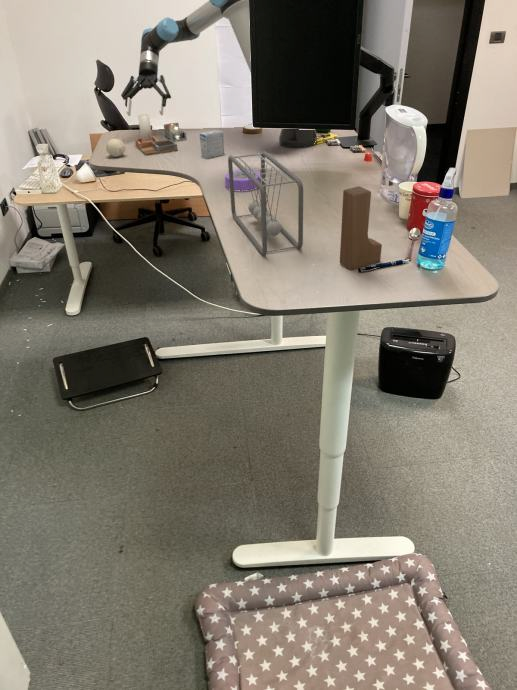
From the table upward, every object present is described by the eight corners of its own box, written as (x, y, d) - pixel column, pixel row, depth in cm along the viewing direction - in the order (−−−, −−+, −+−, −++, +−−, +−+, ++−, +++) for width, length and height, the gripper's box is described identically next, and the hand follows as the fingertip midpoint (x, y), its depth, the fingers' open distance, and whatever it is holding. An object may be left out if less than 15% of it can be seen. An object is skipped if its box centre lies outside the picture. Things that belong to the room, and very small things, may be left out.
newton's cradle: (231, 216, 157) (227, 153, 147) (265, 211, 159) (263, 149, 149) (263, 258, 133) (261, 187, 123) (303, 251, 136) (304, 181, 126)
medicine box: (218, 152, 212) (216, 129, 207) (224, 155, 209) (223, 131, 204) (201, 156, 208) (199, 133, 203) (207, 159, 205) (205, 135, 200)
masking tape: (255, 178, 185) (254, 167, 183) (265, 189, 176) (265, 177, 173) (221, 183, 182) (220, 171, 180) (231, 194, 173) (230, 182, 171)
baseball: (123, 159, 210) (120, 141, 206) (105, 159, 211) (102, 141, 207) (129, 154, 215) (126, 136, 211) (111, 154, 216) (108, 136, 212)
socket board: (177, 150, 216) (176, 144, 215) (145, 155, 212) (144, 148, 211) (166, 141, 229) (165, 134, 228) (135, 145, 225) (134, 139, 224)
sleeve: (154, 144, 222) (150, 116, 216) (143, 146, 221) (139, 117, 214) (151, 142, 226) (147, 114, 220) (140, 143, 224) (136, 115, 218)
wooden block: (369, 254, 133) (375, 181, 123) (380, 261, 130) (388, 187, 119) (338, 263, 129) (342, 189, 119) (350, 270, 126) (355, 195, 116)
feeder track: (186, 140, 229) (185, 126, 226) (172, 142, 227) (170, 128, 224) (179, 134, 238) (177, 121, 235) (165, 136, 236) (163, 123, 233)
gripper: (180, 71, 226) (177, 118, 222) (122, 73, 229) (118, 119, 225) (176, 59, 219) (172, 107, 215) (116, 61, 221) (111, 108, 218)
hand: (144, 113), depth 220 cm, fingers open, 13 cm apart
